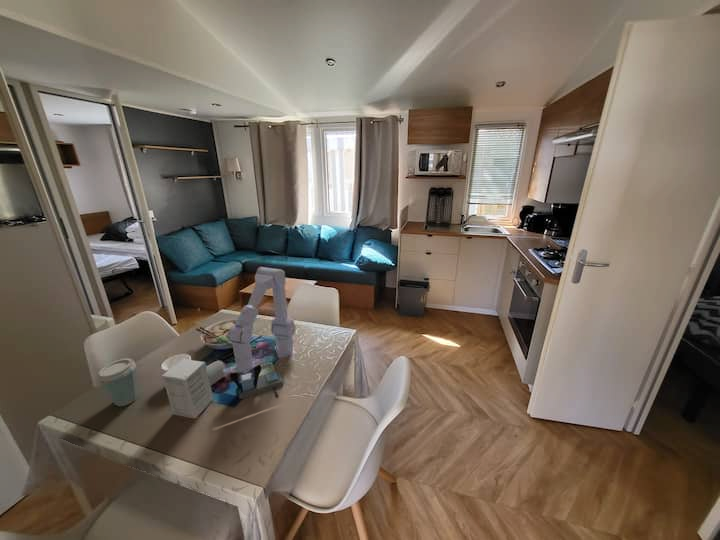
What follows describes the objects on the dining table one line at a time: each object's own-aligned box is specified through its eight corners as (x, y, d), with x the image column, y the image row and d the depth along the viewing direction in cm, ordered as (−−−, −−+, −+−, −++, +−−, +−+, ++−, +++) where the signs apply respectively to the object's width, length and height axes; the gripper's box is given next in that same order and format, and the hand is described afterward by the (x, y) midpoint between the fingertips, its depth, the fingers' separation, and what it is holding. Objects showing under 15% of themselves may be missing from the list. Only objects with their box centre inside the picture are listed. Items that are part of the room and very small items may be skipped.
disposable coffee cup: (105, 415, 95) (91, 381, 90) (111, 395, 103) (98, 362, 98) (143, 403, 100) (132, 369, 95) (146, 384, 109) (136, 352, 104)
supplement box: (214, 399, 102) (206, 361, 97) (195, 419, 94) (185, 379, 88) (192, 394, 104) (183, 357, 99) (172, 414, 96) (160, 375, 90)
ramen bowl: (265, 340, 138) (263, 326, 135) (222, 365, 120) (219, 350, 117) (234, 325, 151) (232, 312, 148) (191, 346, 132) (188, 332, 130)
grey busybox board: (238, 387, 108) (237, 381, 107) (279, 374, 115) (278, 368, 114) (241, 411, 97) (240, 404, 96) (286, 395, 105) (286, 388, 103)
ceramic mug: (230, 376, 114) (227, 361, 111) (212, 389, 107) (208, 373, 104) (213, 368, 118) (210, 353, 116) (195, 381, 111) (191, 365, 109)
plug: (242, 388, 107) (240, 375, 105) (253, 384, 109) (251, 371, 107) (243, 395, 104) (241, 381, 102) (254, 391, 105) (252, 378, 103)
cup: (163, 381, 111) (157, 362, 108) (190, 368, 118) (186, 350, 114) (170, 394, 104) (164, 374, 101) (199, 380, 111) (194, 361, 108)
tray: (255, 370, 117) (254, 366, 117) (272, 365, 120) (271, 361, 120) (258, 380, 112) (257, 377, 111) (275, 375, 115) (275, 371, 114)
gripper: (221, 367, 94) (227, 398, 99) (265, 355, 101) (269, 385, 105) (220, 356, 100) (226, 385, 105) (262, 345, 107) (265, 373, 111)
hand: (247, 384), depth 105 cm, fingers open, 5 cm apart
